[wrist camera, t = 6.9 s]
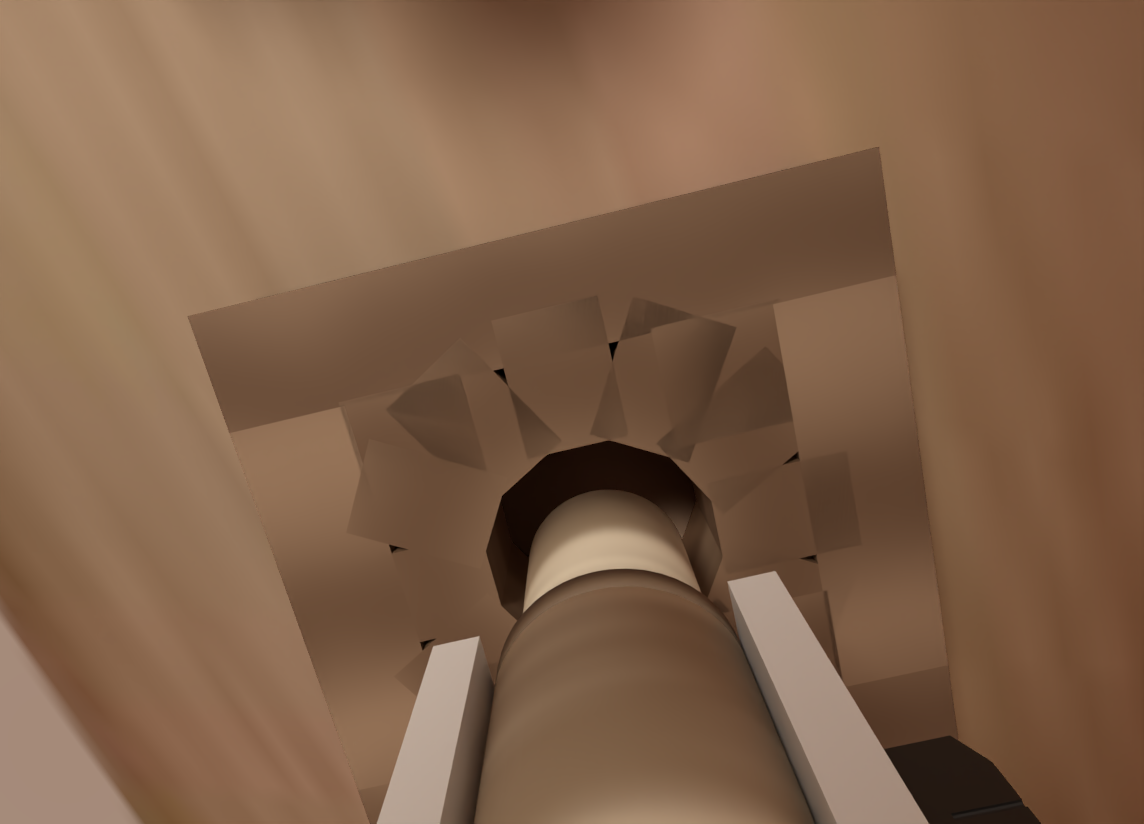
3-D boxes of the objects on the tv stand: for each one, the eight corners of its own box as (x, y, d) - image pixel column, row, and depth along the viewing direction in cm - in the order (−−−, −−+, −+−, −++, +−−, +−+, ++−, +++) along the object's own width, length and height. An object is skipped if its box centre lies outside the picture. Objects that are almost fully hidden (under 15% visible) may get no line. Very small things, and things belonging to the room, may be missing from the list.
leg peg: (494, 499, 16) (122, 1905, 3) (678, 457, 16) (1300, 1731, 2) (540, 662, 17) (438, 2330, 4) (714, 624, 17) (1316, 2232, 3)
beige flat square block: (256, 299, 19) (187, 316, 15) (819, 161, 18) (879, 147, 15) (415, 774, 22) (388, 875, 19) (897, 672, 21) (960, 757, 18)
